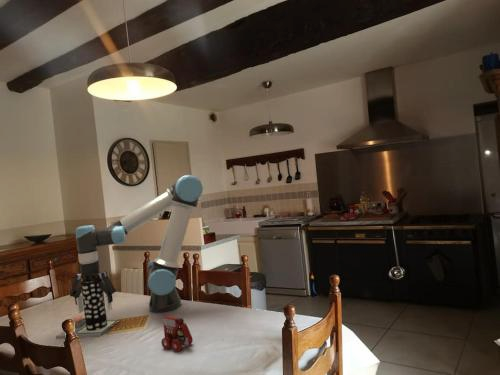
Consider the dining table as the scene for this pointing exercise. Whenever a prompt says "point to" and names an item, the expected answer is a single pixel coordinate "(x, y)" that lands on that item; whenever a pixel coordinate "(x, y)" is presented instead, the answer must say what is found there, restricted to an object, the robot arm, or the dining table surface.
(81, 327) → the picture board
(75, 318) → the button
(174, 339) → the toy fire truck
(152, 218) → the robot arm
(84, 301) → the white-spotted black cylinder
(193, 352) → the dining table surface
